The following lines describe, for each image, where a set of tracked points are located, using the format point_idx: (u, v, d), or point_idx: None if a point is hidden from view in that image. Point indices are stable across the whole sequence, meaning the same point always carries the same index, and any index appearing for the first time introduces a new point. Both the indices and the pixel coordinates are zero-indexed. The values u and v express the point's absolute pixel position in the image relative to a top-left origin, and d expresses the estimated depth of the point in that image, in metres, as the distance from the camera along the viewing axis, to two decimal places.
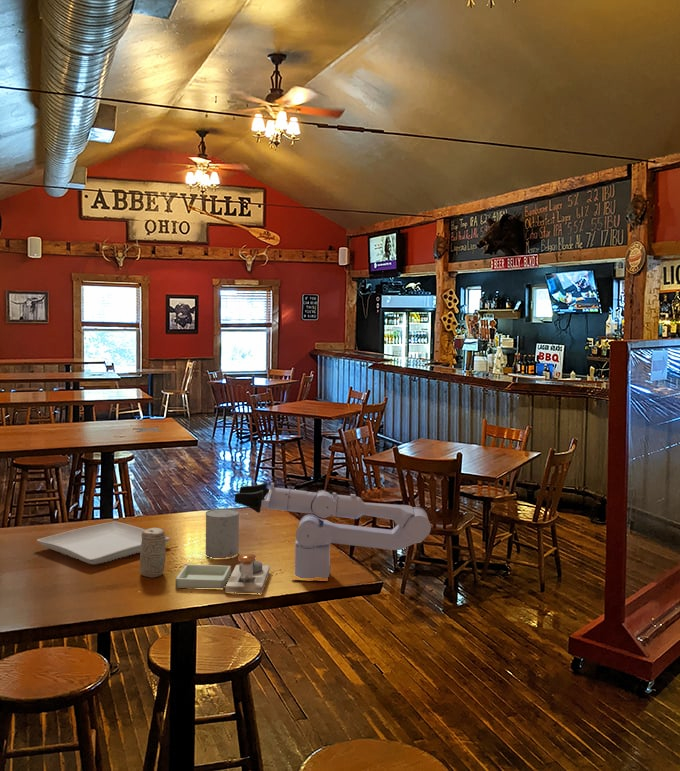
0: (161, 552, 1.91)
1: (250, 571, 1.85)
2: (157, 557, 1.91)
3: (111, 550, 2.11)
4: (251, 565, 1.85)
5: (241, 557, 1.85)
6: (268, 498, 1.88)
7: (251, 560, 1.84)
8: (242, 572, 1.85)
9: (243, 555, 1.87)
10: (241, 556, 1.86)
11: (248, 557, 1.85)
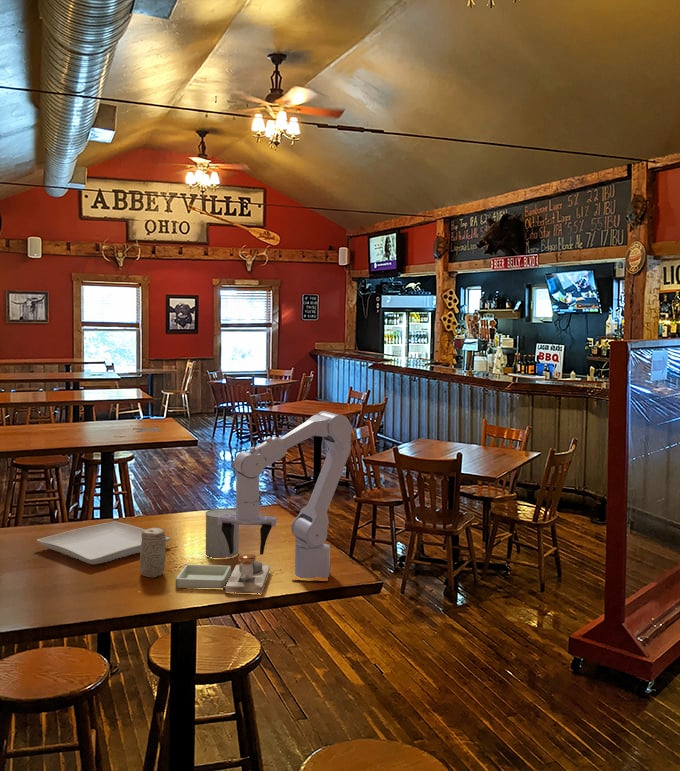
0: (161, 552, 1.91)
1: (250, 571, 1.85)
2: (157, 557, 1.91)
3: (111, 550, 2.11)
4: (251, 565, 1.85)
5: (241, 557, 1.85)
6: (268, 520, 1.83)
7: (251, 560, 1.84)
8: (242, 572, 1.85)
9: (243, 555, 1.87)
10: (241, 556, 1.86)
11: (248, 557, 1.85)
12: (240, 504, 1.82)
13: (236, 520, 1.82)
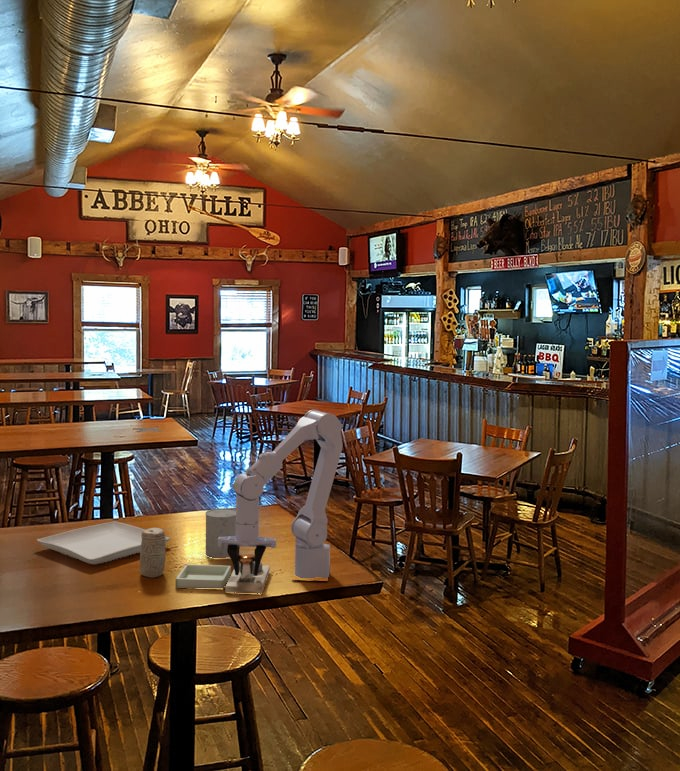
0: (161, 552, 1.91)
1: (250, 571, 1.85)
2: (157, 557, 1.91)
3: (111, 550, 2.11)
4: (251, 565, 1.85)
5: (241, 557, 1.85)
6: (268, 542, 1.84)
7: (251, 560, 1.84)
8: (242, 572, 1.85)
9: (243, 555, 1.87)
10: (241, 556, 1.86)
11: (248, 557, 1.85)
12: (240, 526, 1.82)
13: (236, 542, 1.83)
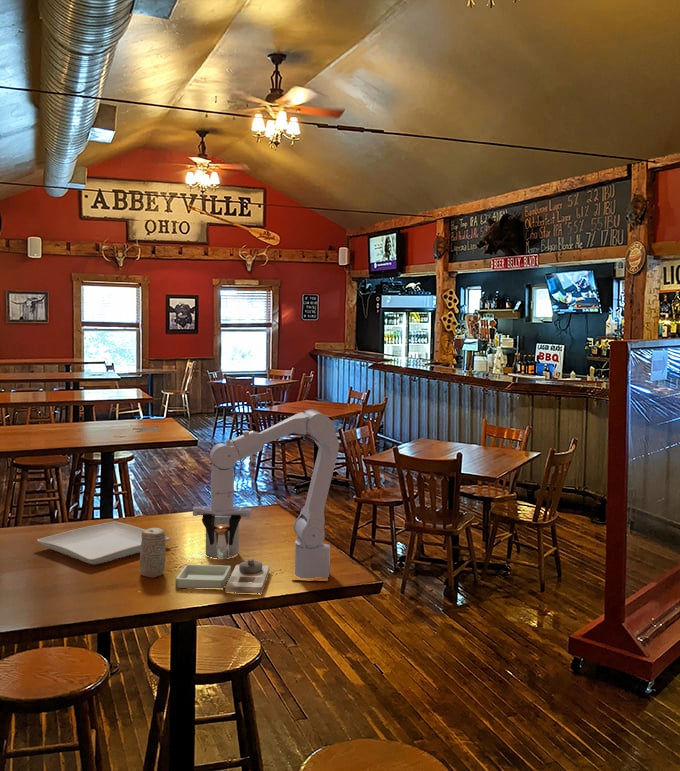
0: (161, 552, 1.91)
1: (226, 541, 1.86)
2: (157, 557, 1.91)
3: (111, 550, 2.11)
4: (226, 535, 1.86)
5: (216, 527, 1.86)
6: (242, 511, 1.85)
7: (226, 530, 1.85)
8: (218, 542, 1.86)
9: (218, 525, 1.88)
10: (216, 526, 1.87)
11: (223, 527, 1.86)
12: (215, 495, 1.84)
13: (211, 511, 1.84)
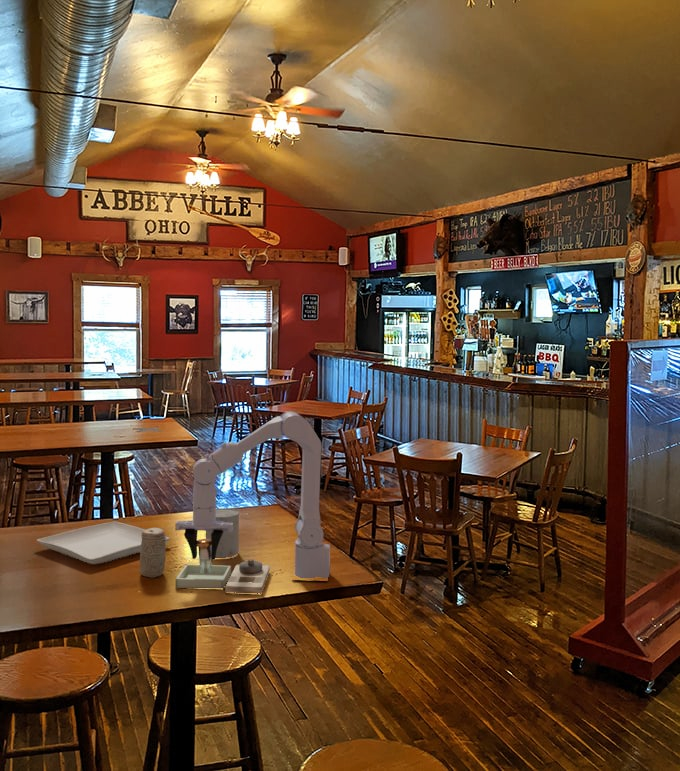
0: (161, 552, 1.91)
1: (208, 555, 1.88)
2: (157, 557, 1.91)
3: (111, 550, 2.11)
4: (209, 549, 1.88)
5: (198, 542, 1.88)
6: (224, 526, 1.87)
7: (208, 544, 1.87)
8: (200, 557, 1.88)
9: (200, 540, 1.90)
10: (198, 541, 1.89)
11: (205, 541, 1.88)
12: (196, 510, 1.85)
13: (193, 526, 1.86)
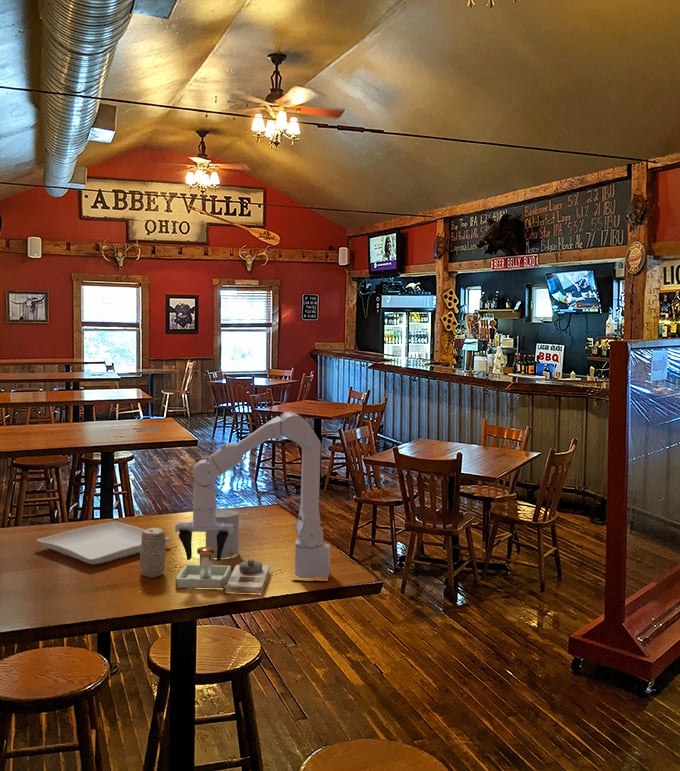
0: (161, 552, 1.91)
1: (209, 563, 1.88)
2: (157, 557, 1.91)
3: (111, 550, 2.11)
4: (210, 557, 1.88)
5: (200, 550, 1.88)
6: (224, 527, 1.87)
7: (210, 553, 1.87)
8: (201, 564, 1.88)
9: (202, 547, 1.90)
10: (200, 548, 1.89)
11: (207, 550, 1.88)
12: (196, 511, 1.85)
13: (193, 527, 1.86)
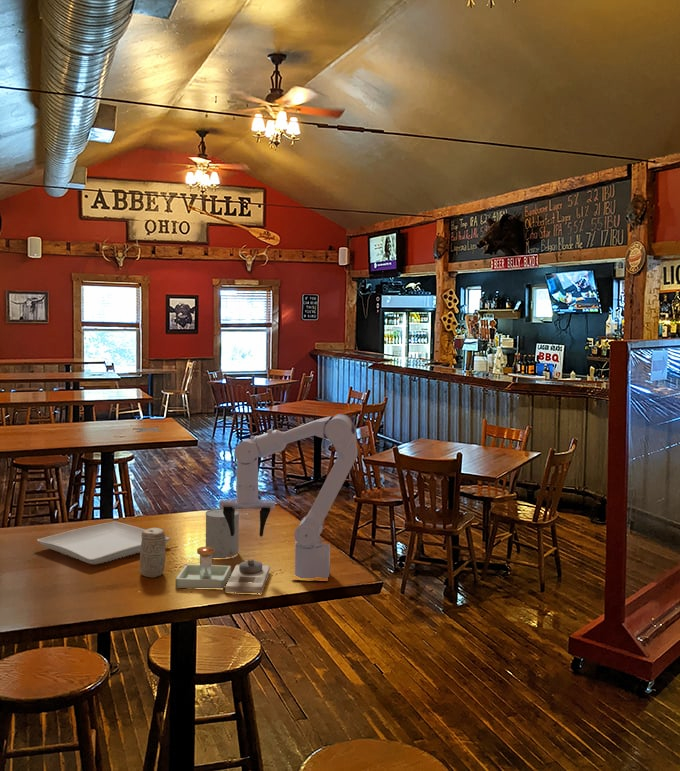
0: (161, 552, 1.91)
1: (209, 563, 1.88)
2: (157, 557, 1.91)
3: (111, 550, 2.11)
4: (210, 557, 1.88)
5: (200, 550, 1.88)
6: (267, 504, 1.94)
7: (210, 553, 1.87)
8: (201, 564, 1.88)
9: (202, 547, 1.90)
10: (200, 548, 1.89)
11: (207, 550, 1.88)
12: (240, 489, 1.92)
13: (237, 504, 1.93)
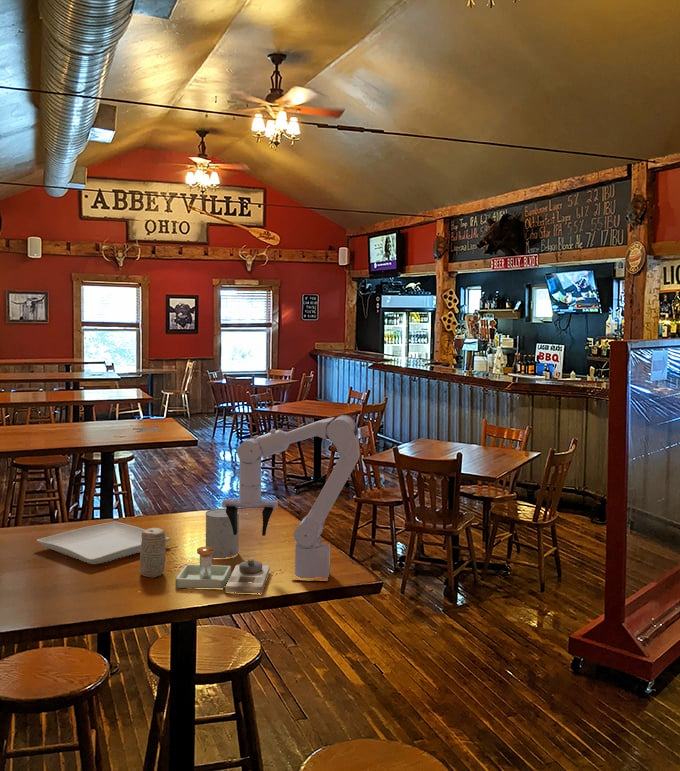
0: (161, 552, 1.91)
1: (209, 563, 1.88)
2: (157, 557, 1.91)
3: (111, 550, 2.11)
4: (210, 557, 1.88)
5: (200, 550, 1.88)
6: (270, 503, 1.94)
7: (210, 553, 1.87)
8: (201, 564, 1.88)
9: (202, 547, 1.90)
10: (200, 548, 1.89)
11: (207, 550, 1.88)
12: (243, 488, 1.93)
13: (239, 503, 1.93)
